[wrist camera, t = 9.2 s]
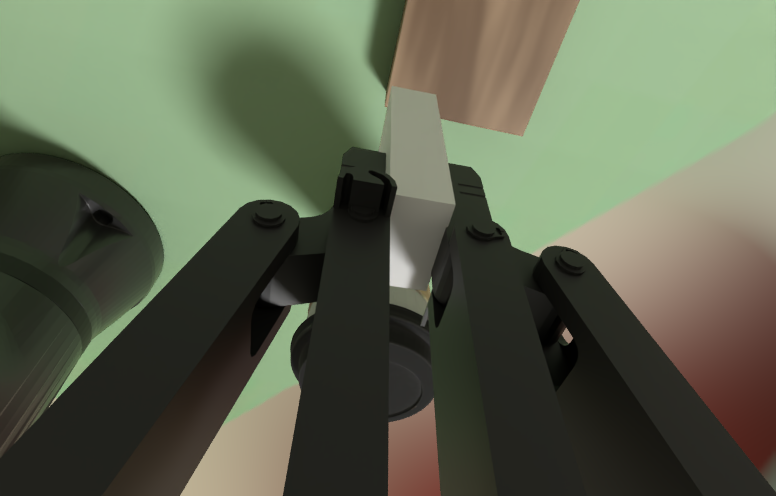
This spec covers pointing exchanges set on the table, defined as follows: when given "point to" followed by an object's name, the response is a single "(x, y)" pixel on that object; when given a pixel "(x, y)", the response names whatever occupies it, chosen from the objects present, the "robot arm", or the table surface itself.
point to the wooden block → (480, 56)
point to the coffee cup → (391, 352)
